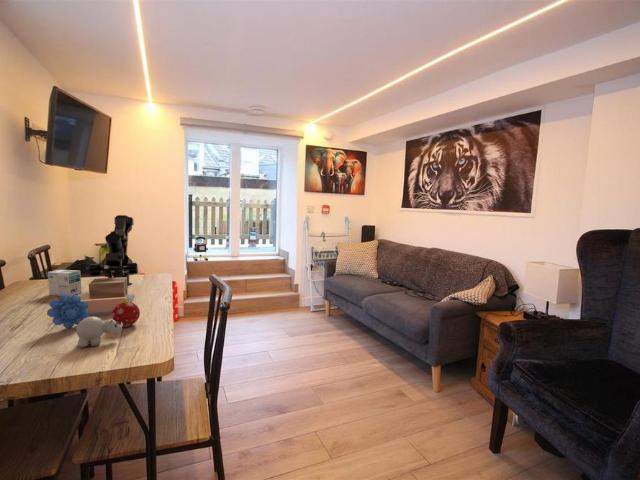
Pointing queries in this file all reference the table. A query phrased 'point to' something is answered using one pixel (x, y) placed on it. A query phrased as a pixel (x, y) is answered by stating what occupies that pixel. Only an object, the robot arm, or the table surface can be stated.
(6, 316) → the table surface
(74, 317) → the blue lumpy rosette
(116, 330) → the round bodied animal figurine
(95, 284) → the walnut slab
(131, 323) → the christmas ornament
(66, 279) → the light bulb box
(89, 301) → the stop bar
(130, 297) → the slate board
